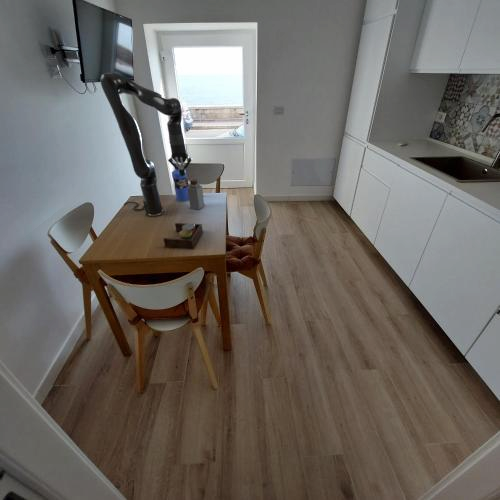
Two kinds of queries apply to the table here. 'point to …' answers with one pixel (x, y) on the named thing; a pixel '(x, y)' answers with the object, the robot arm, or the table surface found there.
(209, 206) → the table surface
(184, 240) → the dark brown tray
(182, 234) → the tea tin
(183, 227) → the tin can
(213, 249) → the table surface
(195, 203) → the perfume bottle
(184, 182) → the water bottle
